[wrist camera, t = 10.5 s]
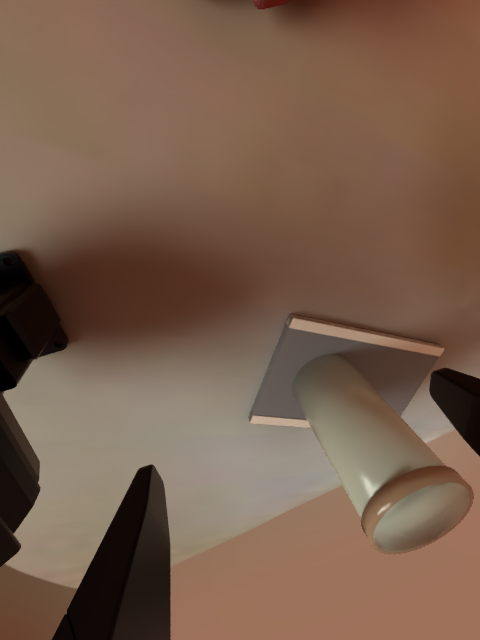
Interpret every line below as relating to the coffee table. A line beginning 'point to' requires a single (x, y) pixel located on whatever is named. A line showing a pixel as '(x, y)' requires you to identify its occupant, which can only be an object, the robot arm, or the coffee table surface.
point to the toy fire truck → (269, 3)
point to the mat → (358, 348)
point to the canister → (379, 459)
